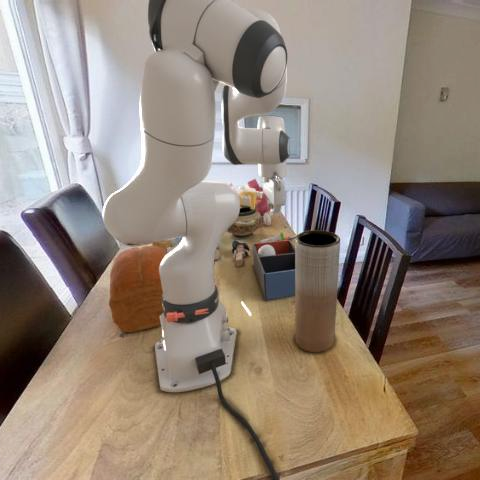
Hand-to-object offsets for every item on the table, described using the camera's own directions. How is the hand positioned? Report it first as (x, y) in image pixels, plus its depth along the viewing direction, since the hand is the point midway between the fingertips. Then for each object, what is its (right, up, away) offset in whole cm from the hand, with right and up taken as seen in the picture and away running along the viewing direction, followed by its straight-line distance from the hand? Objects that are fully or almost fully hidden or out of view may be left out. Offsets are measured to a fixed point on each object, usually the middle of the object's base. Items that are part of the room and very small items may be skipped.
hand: (273, 212), depth 103 cm
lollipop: (0, -18, +13) cm, 22 cm away
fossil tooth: (-30, -17, +14) cm, 38 cm away
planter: (+14, -35, -25) cm, 45 cm away
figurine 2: (-28, -8, +24) cm, 37 cm away
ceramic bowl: (-20, -7, +39) cm, 45 cm away
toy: (-21, +8, +55) cm, 59 cm away
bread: (-35, -28, -12) cm, 46 cm away
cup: (-9, -12, +22) cm, 27 cm away
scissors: (0, -9, +36) cm, 37 cm away
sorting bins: (+1, -23, +3) cm, 23 cm away
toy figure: (-15, -16, +18) cm, 29 cm away
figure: (-20, +6, +35) cm, 41 cm away
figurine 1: (-43, -11, +30) cm, 53 cm away
